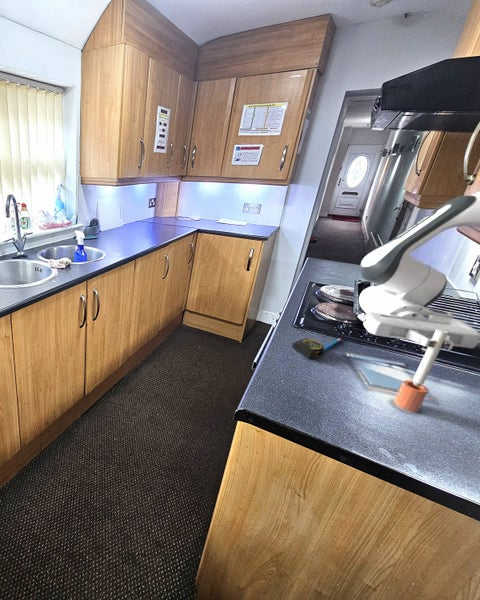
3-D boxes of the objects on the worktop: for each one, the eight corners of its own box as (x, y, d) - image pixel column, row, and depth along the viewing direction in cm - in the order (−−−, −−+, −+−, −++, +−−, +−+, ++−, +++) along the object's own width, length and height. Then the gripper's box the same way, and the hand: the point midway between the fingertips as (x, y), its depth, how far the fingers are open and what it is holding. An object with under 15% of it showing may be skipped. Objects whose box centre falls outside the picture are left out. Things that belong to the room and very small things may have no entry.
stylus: (419, 383, 76) (444, 329, 71) (423, 388, 75) (450, 333, 70) (409, 381, 77) (434, 328, 72) (413, 386, 75) (439, 331, 70)
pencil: (340, 340, 107) (341, 338, 107) (315, 356, 99) (316, 354, 99) (338, 339, 108) (338, 337, 108) (312, 355, 99) (313, 353, 99)
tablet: (402, 364, 95) (403, 362, 95) (437, 402, 80) (438, 399, 80) (345, 354, 100) (346, 351, 100) (367, 388, 85) (368, 385, 84)
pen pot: (412, 403, 80) (422, 383, 77) (421, 415, 76) (433, 394, 73) (390, 398, 81) (399, 378, 79) (398, 409, 77) (408, 389, 75)
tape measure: (289, 350, 102) (292, 340, 100) (308, 346, 103) (311, 336, 101) (307, 362, 96) (310, 352, 94) (327, 358, 97) (330, 347, 95)
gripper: (358, 302, 85) (387, 325, 73) (458, 313, 79) (507, 340, 67) (350, 324, 87) (376, 349, 75) (446, 336, 82) (491, 366, 70)
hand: (439, 345), depth 71 cm, fingers closed on stylus, 2 cm apart
